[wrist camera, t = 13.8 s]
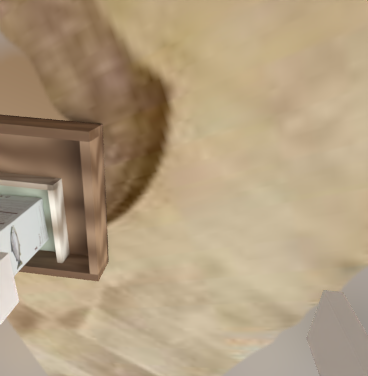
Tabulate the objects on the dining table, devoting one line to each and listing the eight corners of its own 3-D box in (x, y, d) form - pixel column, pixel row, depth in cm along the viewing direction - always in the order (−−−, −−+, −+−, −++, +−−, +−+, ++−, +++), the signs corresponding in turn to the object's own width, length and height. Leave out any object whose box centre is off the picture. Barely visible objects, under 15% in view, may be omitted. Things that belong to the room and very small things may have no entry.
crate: (-46, 110, 38) (-77, 116, 34) (102, 124, 37) (88, 131, 33) (-12, 247, 47) (-33, 265, 42) (108, 261, 46) (98, 281, 41)
